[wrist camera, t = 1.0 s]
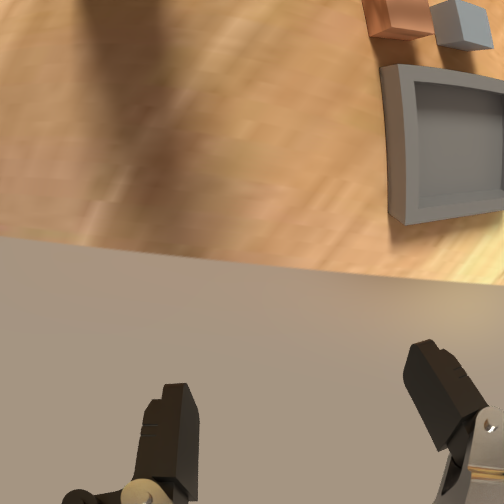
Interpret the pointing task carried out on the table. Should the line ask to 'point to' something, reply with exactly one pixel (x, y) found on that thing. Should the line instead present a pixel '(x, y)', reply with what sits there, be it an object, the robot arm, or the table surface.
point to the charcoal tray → (442, 143)
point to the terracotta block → (398, 19)
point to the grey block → (461, 26)
